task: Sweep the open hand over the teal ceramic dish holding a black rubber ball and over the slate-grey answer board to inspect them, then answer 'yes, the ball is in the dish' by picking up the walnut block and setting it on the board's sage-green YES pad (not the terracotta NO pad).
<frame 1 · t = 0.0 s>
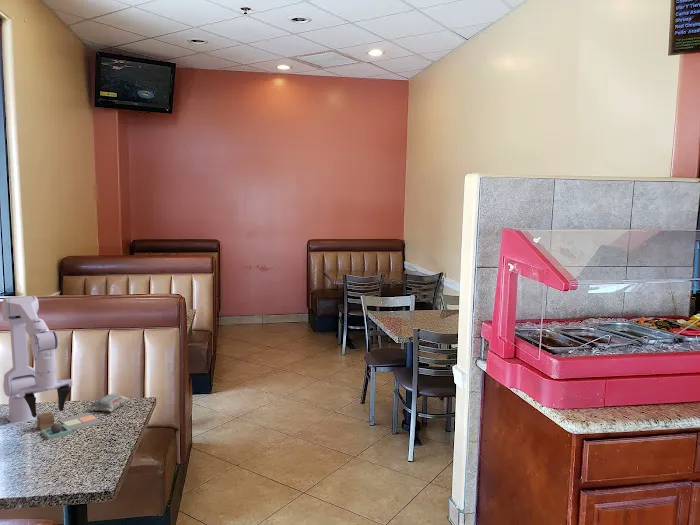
hand: (47, 413, 172), 10 cm above the table, fingers open, 7 cm apart
answer board: (80, 423, 190), on the table
ball: (56, 433, 180), point 1 cm above the table, touching dish
packaged food: (111, 410, 204), on the table
dish: (56, 435, 180), on the table
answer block: (46, 429, 185), on the table
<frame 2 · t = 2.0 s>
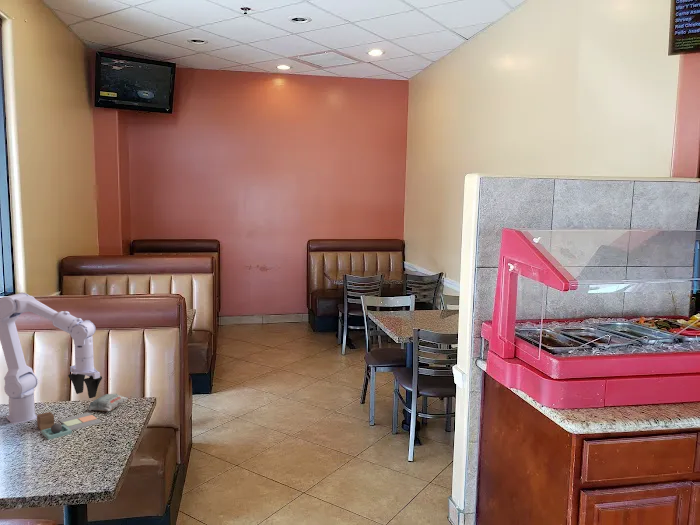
hand: (85, 395, 191), 9 cm above the table, fingers open, 7 cm apart
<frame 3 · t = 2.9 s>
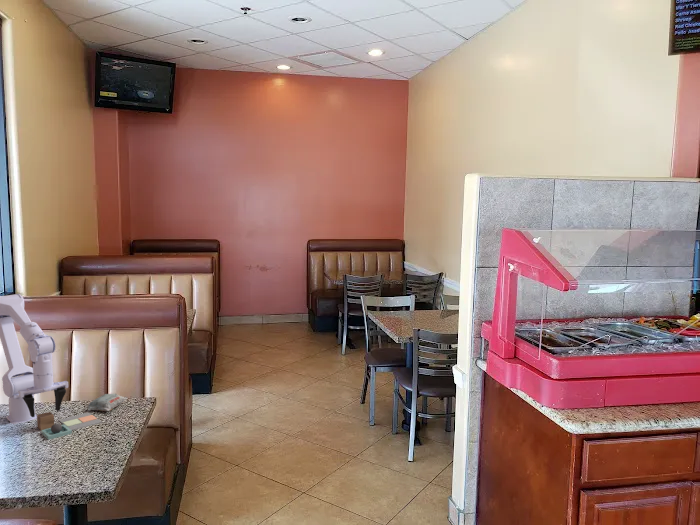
hand: (45, 413, 184), 6 cm above the table, fingers open, 7 cm apart
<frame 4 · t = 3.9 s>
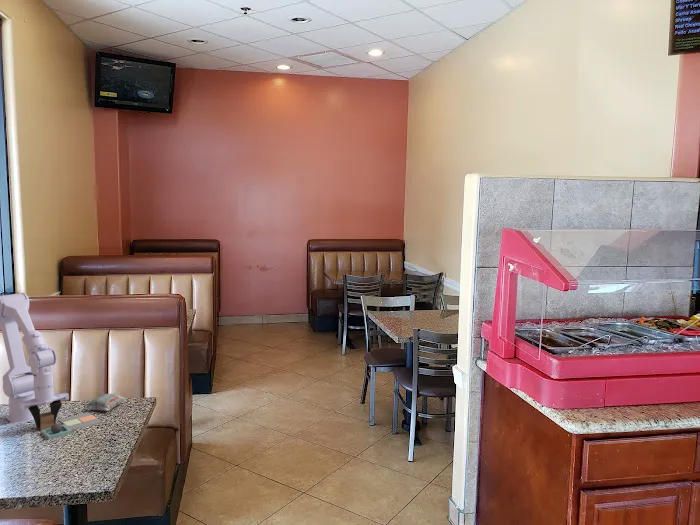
hand: (45, 425, 185), 1 cm above the table, fingers closed on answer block, 4 cm apart
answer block: (46, 429, 185), on the table, touching gripper
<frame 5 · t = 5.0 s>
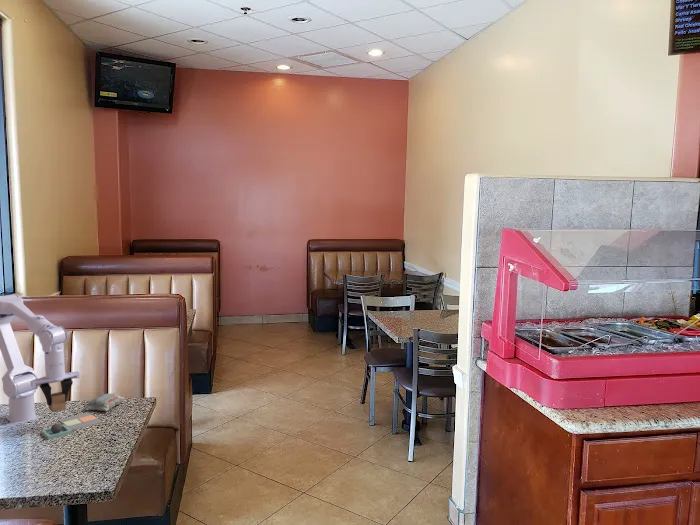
hand: (56, 403, 186), 8 cm above the table, fingers closed on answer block, 4 cm apart
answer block: (57, 409, 186), point 6 cm above the table, touching gripper
when the fingers open (4 cm above the table, at t = 6.5 s): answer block stays where it is, resting on answer board.
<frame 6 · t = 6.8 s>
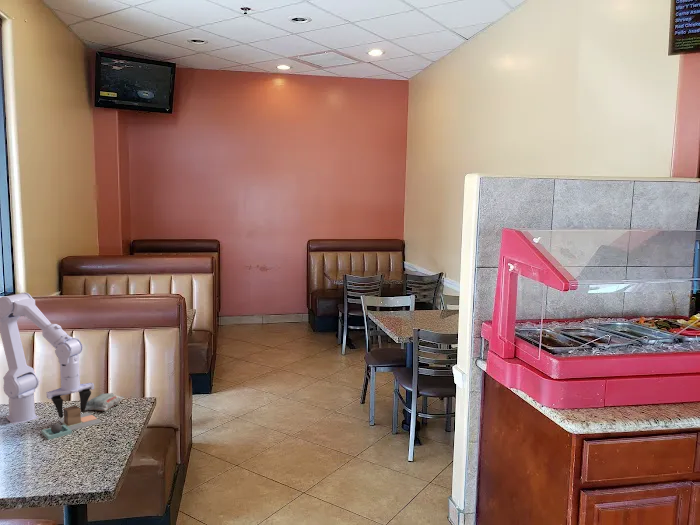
hand: (71, 414, 188), 4 cm above the table, fingers open, 6 cm apart
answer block: (72, 422, 188), point 1 cm above the table, touching answer board
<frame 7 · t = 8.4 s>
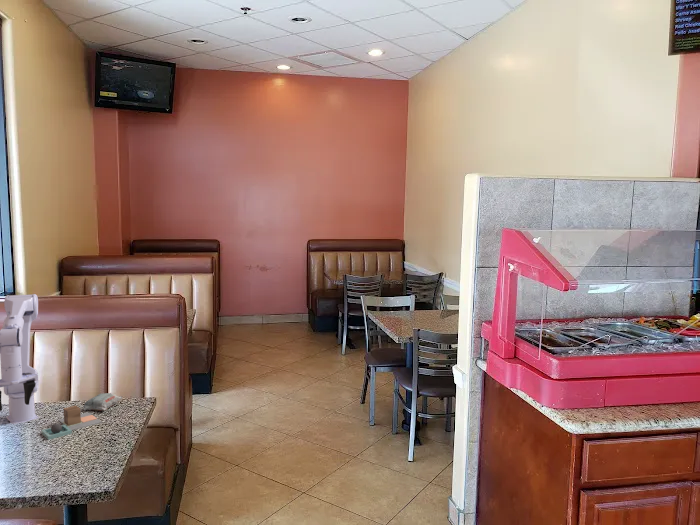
hand: (13, 406, 178), 10 cm above the table, fingers open, 7 cm apart
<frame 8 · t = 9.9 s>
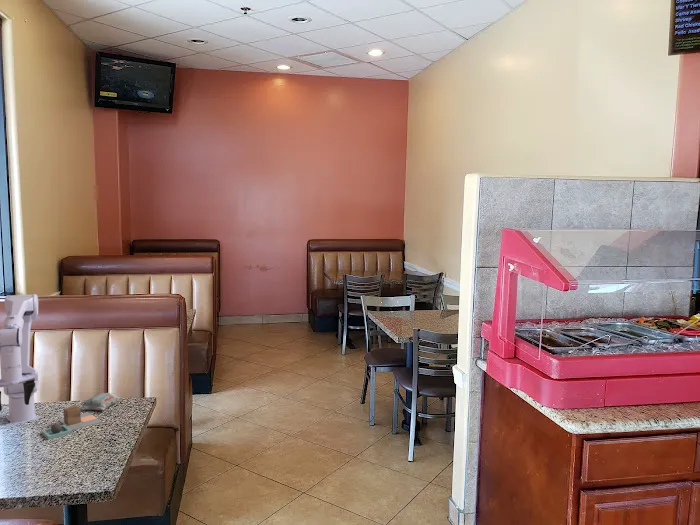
hand: (13, 406, 178), 10 cm above the table, fingers open, 7 cm apart
at the end: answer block 0.4 cm from the target spot on the answer board, point 1.0 cm above the answer board's base; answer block tilted 0°; the gripper is holding nothing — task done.
